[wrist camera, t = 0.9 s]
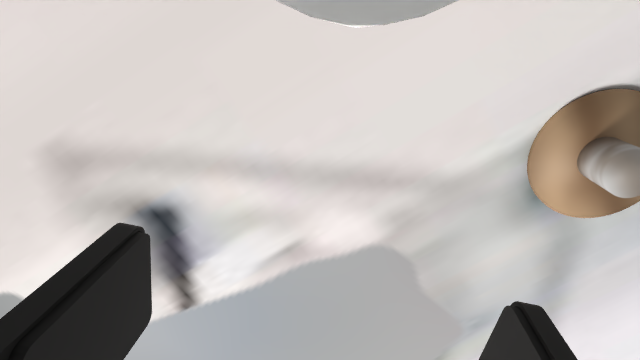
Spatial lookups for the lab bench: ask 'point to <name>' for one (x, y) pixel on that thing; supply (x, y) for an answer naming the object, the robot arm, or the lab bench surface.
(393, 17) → the cylindrical container
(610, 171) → the lid
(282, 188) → the lab bench surface
